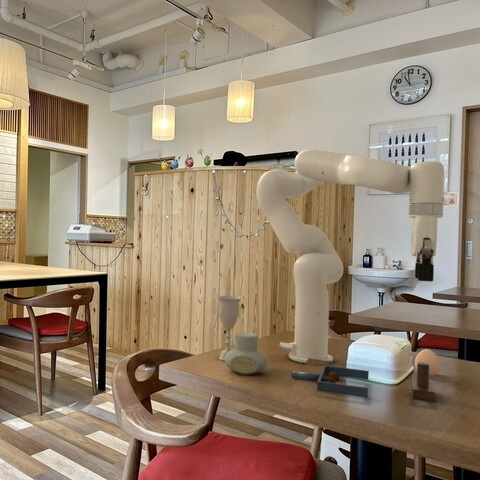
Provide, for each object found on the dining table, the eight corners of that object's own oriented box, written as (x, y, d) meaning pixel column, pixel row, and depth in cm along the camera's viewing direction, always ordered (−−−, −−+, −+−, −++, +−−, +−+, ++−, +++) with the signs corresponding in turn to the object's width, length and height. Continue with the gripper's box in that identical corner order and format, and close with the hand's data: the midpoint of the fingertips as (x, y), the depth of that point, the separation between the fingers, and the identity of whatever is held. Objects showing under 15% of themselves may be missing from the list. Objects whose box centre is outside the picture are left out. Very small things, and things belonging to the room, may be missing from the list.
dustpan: (368, 384, 120) (368, 370, 120) (367, 403, 105) (367, 388, 105) (295, 374, 127) (296, 361, 127) (285, 391, 112) (286, 376, 112)
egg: (433, 382, 123) (434, 353, 123) (410, 377, 128) (411, 348, 128) (443, 379, 126) (444, 350, 126) (420, 374, 131) (421, 346, 131)
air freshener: (267, 369, 131) (268, 332, 131) (265, 378, 123) (266, 338, 123) (226, 365, 134) (227, 329, 134) (222, 373, 126) (223, 335, 126)
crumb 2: (340, 380, 116) (330, 386, 117) (342, 379, 119) (333, 385, 120) (333, 369, 118) (323, 376, 119) (335, 369, 120) (326, 375, 121)
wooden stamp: (412, 405, 105) (413, 366, 105) (411, 394, 112) (412, 358, 112) (433, 408, 104) (434, 368, 104) (430, 397, 111) (432, 360, 111)
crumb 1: (324, 376, 113) (336, 382, 112) (326, 372, 116) (338, 377, 115) (320, 386, 114) (332, 392, 113) (322, 382, 117) (333, 387, 116)
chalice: (234, 363, 137) (236, 299, 137) (211, 359, 140) (213, 297, 140) (242, 358, 143) (244, 297, 143) (221, 354, 147) (223, 295, 147)
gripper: (406, 213, 131) (404, 276, 131) (411, 209, 115) (409, 281, 115) (438, 213, 128) (436, 278, 128) (447, 209, 112) (445, 283, 112)
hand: (423, 279), depth 121 cm, fingers open, 9 cm apart
